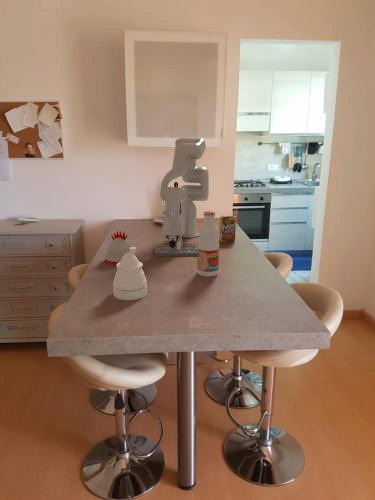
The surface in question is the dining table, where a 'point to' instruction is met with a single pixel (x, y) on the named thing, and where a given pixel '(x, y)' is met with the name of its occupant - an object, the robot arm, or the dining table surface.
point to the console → (168, 251)
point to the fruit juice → (208, 246)
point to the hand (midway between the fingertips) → (172, 247)
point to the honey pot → (129, 278)
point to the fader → (178, 245)
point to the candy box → (227, 228)
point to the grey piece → (117, 249)
